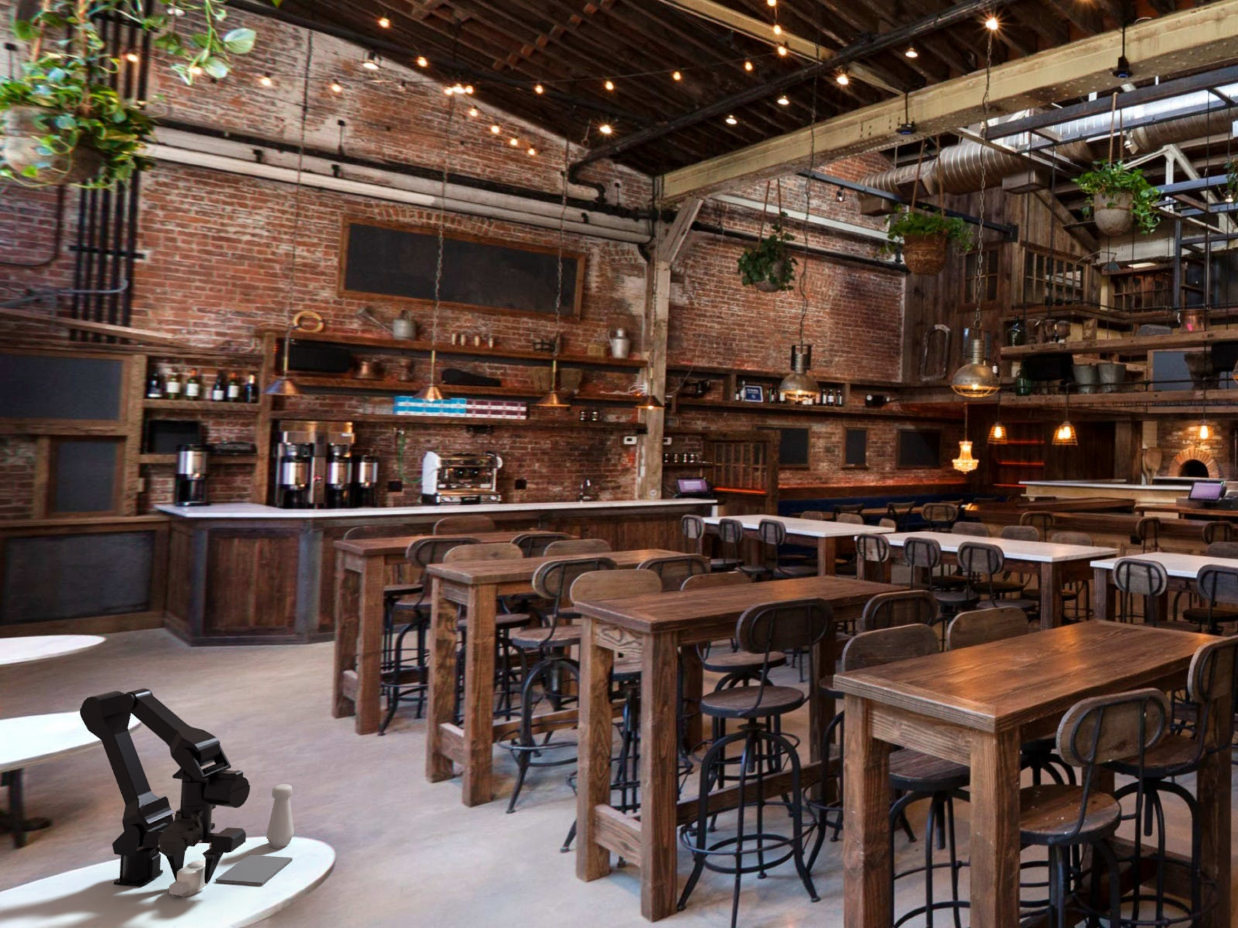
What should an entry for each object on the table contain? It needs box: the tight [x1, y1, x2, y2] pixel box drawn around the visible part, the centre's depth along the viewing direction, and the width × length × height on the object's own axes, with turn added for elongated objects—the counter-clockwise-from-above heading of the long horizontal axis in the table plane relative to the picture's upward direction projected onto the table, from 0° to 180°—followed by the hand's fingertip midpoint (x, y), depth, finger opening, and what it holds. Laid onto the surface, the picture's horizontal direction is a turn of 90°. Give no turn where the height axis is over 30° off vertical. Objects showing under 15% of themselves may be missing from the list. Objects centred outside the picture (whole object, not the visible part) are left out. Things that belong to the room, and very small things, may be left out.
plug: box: [168, 859, 209, 897], centre depth 162 cm, size 9×4×4 cm, turn 174°
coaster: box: [215, 854, 293, 886], centre depth 171 cm, size 10×12×1 cm
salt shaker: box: [265, 783, 295, 849], centre depth 185 cm, size 6×6×13 cm
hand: (192, 881), depth 163 cm, fingers open, 6 cm apart
